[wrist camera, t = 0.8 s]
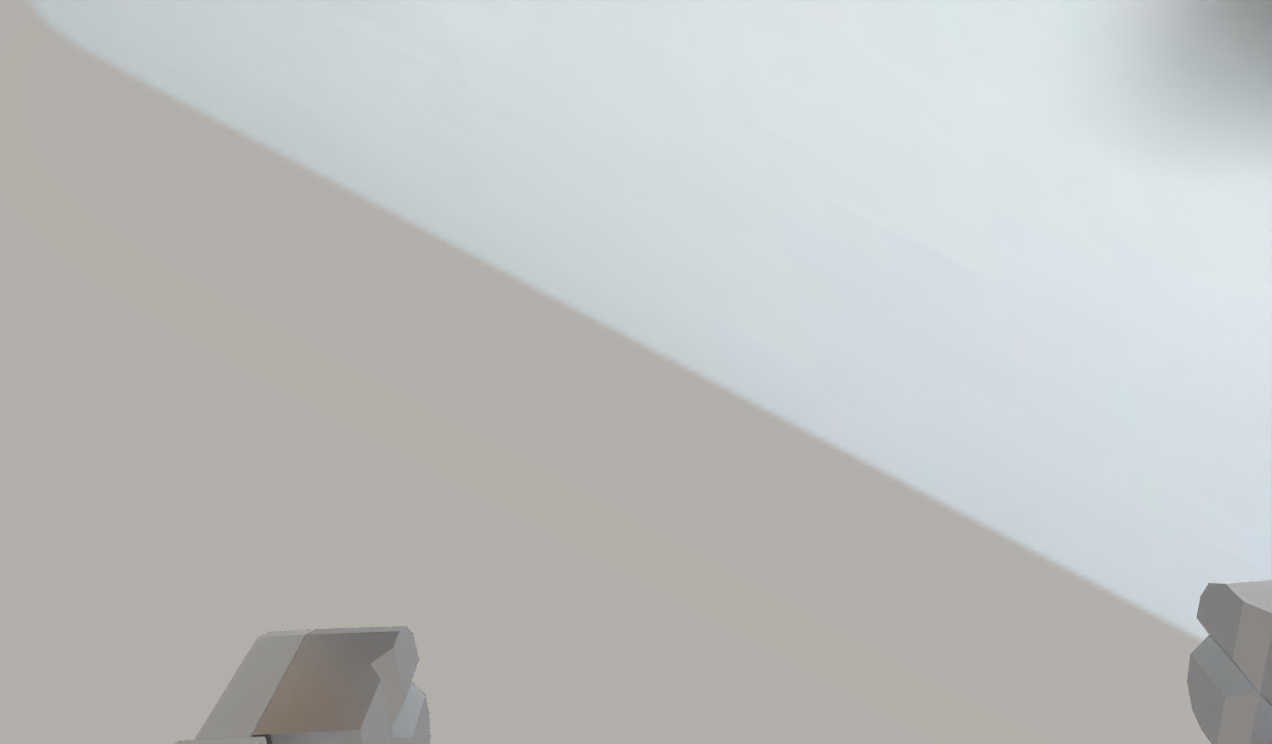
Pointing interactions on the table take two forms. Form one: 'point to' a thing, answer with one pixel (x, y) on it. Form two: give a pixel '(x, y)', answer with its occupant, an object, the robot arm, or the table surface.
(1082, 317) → the table surface
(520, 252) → the table surface
